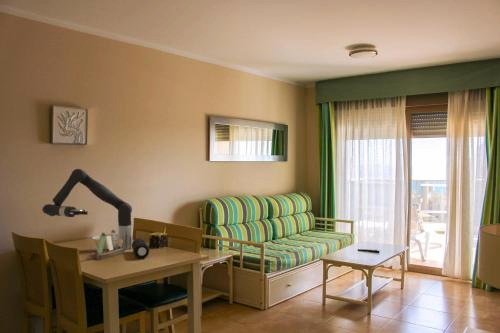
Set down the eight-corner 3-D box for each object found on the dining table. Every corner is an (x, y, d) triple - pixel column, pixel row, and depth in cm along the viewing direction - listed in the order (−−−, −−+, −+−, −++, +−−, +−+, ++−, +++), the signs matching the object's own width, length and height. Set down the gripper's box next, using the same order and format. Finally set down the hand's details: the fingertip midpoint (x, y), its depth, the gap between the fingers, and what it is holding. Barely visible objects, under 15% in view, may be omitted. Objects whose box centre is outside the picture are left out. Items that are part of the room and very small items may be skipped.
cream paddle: (107, 250, 291) (105, 236, 292) (111, 249, 295) (109, 235, 295) (109, 250, 290) (106, 236, 291) (113, 249, 294) (110, 235, 295)
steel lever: (113, 249, 297) (110, 230, 298) (116, 248, 300) (113, 230, 301) (116, 248, 296) (112, 230, 297) (119, 248, 299) (115, 229, 300)
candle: (167, 246, 327) (167, 233, 327) (159, 248, 318) (159, 235, 318) (156, 244, 331) (157, 232, 331) (148, 247, 322) (148, 234, 322)
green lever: (95, 253, 281) (100, 232, 280) (99, 252, 284) (104, 231, 283) (98, 254, 280) (103, 233, 279) (102, 253, 283) (107, 233, 282)
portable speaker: (131, 251, 305) (131, 238, 304) (145, 251, 308) (145, 237, 308) (134, 259, 281) (134, 244, 281) (149, 259, 284) (150, 244, 284)
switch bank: (90, 258, 281) (90, 251, 281) (114, 251, 302) (114, 245, 302) (101, 259, 278) (101, 252, 278) (124, 253, 299) (124, 246, 299)
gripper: (60, 207, 292) (79, 208, 285) (74, 205, 304) (93, 206, 297) (60, 218, 292) (79, 219, 285) (74, 215, 304) (93, 217, 297)
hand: (86, 213), depth 291 cm, fingers closed
